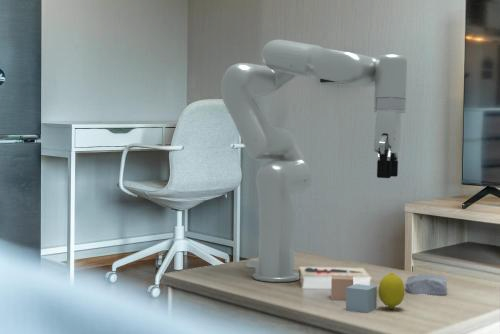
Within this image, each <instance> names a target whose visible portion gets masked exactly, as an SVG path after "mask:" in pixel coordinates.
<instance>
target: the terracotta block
mask: <svg viewBox="0 0 500 334" xmlns="http://www.w3.org/2000/svg"><path fill="white" fill-rule="evenodd" d="M352 285H354V275H337V274H335V275H334V274H332V275H331V291H330V293H331V294H330V297H331V298H330V300H331V301H345V302H346V287H349V286H352Z"/></svg>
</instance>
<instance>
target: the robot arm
mask: <svg viewBox="0 0 500 334" xmlns="http://www.w3.org/2000/svg"><path fill="white" fill-rule="evenodd" d="M261 59H262V62H263V63H264V65H261V64H256V63H249V62H239V63H235V64H232V65H231V66H229V67H228V68H227V70H226V71H225V73H224V74H223V76H222V80H221V84H220V85H221V87H220V88H221V90H220V91H221V92H220V93H221V98H222V100H223V101H222V102H223V103H224V105H225V108H226V109H227V112H228V113H229V115H230V117H231V119H232V121H233V124H234V126H235V127H236V130H237V131H238V134H239V136H240V139H241V141H242V144H243V145H244V147H245V150H246V151H247V154H248V156H249V157H250V158H251V159H253V160H255V161H259V162H266V163H264V164H263V165H261V166H260V168H259V169H258V170H257V173H256V176H255V177H256V178H255V184H256V190H257V197H258V206H259V207H258V210H259V211H258V213H259V217H258V223H259V224H258V225H259V226H258V228H259V229H258V230H259V232H258V234H259V235H258V236H259V237H258V238H259V239H258V243H259V244H258V260H256V261H248V260H247V261H246V262H245V267H244V268H246V269H247V270H254V271H255V272H254V273H253V274H252V278H253V279H254V280H256V281H261V282H270V283H287V282H295V281H298V280H299V274H300V273H299V272H296V271H295V238H296V237H295V234H296V233H295V231H296V230H295V229H296V228H295V227H296V225H295V220H296V219H295V217H296V214H295V213H296V212H295V207H294V202H293V198H292V197H291V196H297V195H301V194H304V193H305V192H307V190H309V188H310V186H311V183H312V174H311V170H310V167H309V164H308V162H307V161H306V158H305V155H304V154H303V152H302V150H301V148H300V146H299V144H298V142H297V140H296V139H295V137H294V135H293V134H292V133H291V132H290V131H289V130H287V129H286V128H283V127H279V126H278V127H277V126H272V125H271V124H270V123H269V121H268V119H267V117H266V115H265V113H264V111H263V109H262V107H261V106H260V105H259V103H258V102H257V100H255V99H254V98H253V96H259V97H260V96H261V97H266V96H271V95H273V94H276V93H277V92H278V91H279V90H281V89H282V88H283V87H285V86H286V85H287V84H288V83H290V82H292V81H293V80H294V79H295V78H297V77H298V76H300V77H304V78H309V79H314V80H315V79H322V80H325V81H332V82H336V83H341V84H345V85H351V86H358V87H366V88H371V87H374V90H373V91H374V96H373V97H374V98H373V101H374V102H373V113H376V117H375V125H374V139H373V152H375V153H376V154H378V155H377V160H376V161H377V162H376V163H377V164H376V168H377V169H376V177H377V179H379V178H380V179H391V177H395V178H396V177H398V173H399V172H398V171H399V168H398V167H399V160H398V159H399V156H398V153H399V152H400V148H401V133H402V132H401V128H402V126H401V124H402V120H401V117H402V114H405V113H406V107H407V106H406V104H407V103H406V102H407V99H406V98H407V76H408V74H407V73H408V60H407V57H405V56H404V55H402V54H395V53H393V54H392V53H388V54H387V53H386V54H381V55H378V56H377V57H373V56H369V55H364V54H360V53H355V52H349V51H343V50H336V49H331V48H324V47H322V46H321V45H317V44H311V43H310V44H309V43H303V42H297V41H292V40H286V39H285V40H284V39H274V40H270V41H269V42H267V43H266V44H265V45H264V47H263V48H262V50H261Z"/></svg>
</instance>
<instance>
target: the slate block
mask: <svg viewBox="0 0 500 334" xmlns="http://www.w3.org/2000/svg"><path fill="white" fill-rule="evenodd" d="M377 289H378V287H377V286H376V285H369V284H368V285H367V284H358V283H355V284H354V283H353V285H352V286H349V287H346V301H345V310H346V311H351V312H359V313H364V314H365V313H366V314H368V313H370V312H373V311H375V310H377V293H378V292H377V291H378V290H377Z"/></svg>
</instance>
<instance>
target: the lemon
mask: <svg viewBox="0 0 500 334" xmlns="http://www.w3.org/2000/svg"><path fill="white" fill-rule="evenodd" d="M378 296H379V299H380V301H381V302H382V304H384V305H385V306H387V307H388V308H389V310H393V309H394V308H395V307H397V306H399V305H400V304H401V303H402V302H403V300H404V297H405V284H404V282H403V280H402V279H401V277H400V276H398V275H396V274H395V273H394V272H390V273H389V274H386V275H385V276H383V277H382V278H381V280H380V282H379V286H378Z"/></svg>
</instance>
